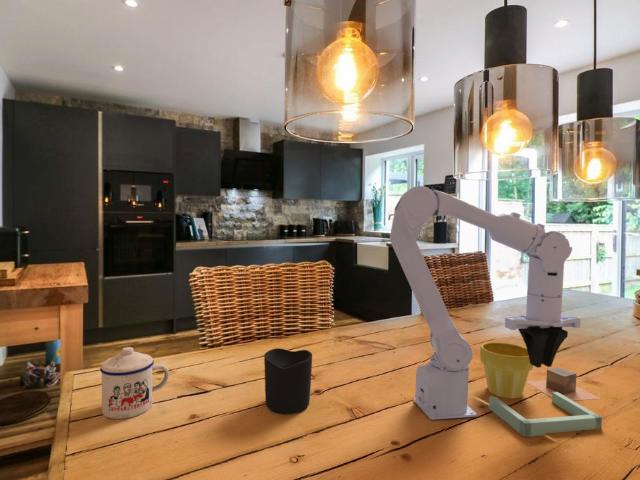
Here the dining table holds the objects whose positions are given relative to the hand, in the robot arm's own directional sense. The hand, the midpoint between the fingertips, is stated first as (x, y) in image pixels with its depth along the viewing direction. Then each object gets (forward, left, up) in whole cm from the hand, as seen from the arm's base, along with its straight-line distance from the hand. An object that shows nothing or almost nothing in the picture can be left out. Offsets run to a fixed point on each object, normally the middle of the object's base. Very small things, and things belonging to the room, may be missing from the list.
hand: (540, 365), depth 73 cm
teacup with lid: (-76, +14, -10) cm, 78 cm away
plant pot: (0, +10, -10) cm, 14 cm away
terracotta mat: (+13, +9, -10) cm, 19 cm away
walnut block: (+13, +9, -10) cm, 18 cm away
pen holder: (-47, +11, -10) cm, 49 cm away
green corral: (0, -1, -10) cm, 10 cm away
